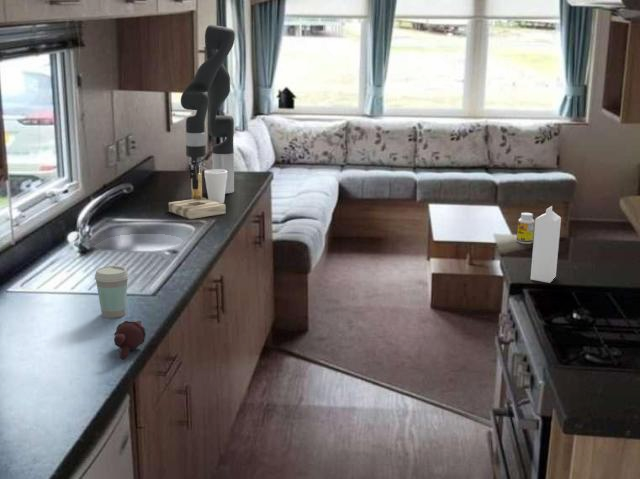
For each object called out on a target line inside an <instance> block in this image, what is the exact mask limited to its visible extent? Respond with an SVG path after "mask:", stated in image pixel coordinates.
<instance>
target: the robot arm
mask: <svg viewBox="0 0 640 479" xmlns="http://www.w3.org/2000/svg"><path fill="white" fill-rule="evenodd" d="M235 40H236V39H235V30H234V29H233V28H230V27H226V26H222V25H221V26H220V25H217V24H216V25H215V24H210V25H207V27H206V29H205V31H204V43H205V44H204V46H205V53H206V60H205V61H204V62H203V63H201V64H200V66H199V67H198V69H197V71H196V73H195V75H194V78H193V80H192V81H191V83H189V85H188V86H186V88H185V89H184V91H183V92H182V94H181V97H180V105H181V107H182V108H183V109H184V110H188V111H196V112H195V115H191V116H188V117H187V118H186V119H185V131H186V132H185V154H186V157H188V158H191V159H190V161H189V164H188V169H189V179H190V180H191V179H192V184H191V189H192V188H193V189H198V174H199V173H202V175H203V170H204V168H203V167H204V159H202V158H204V157H206V155H207V152H206V151H207V150H206V149H207V146H206V145H207V144H206V142H207V140H206V129H205V128H206V127H205V124H206V123H205V121H206V116H207V112H208V118H207V119H208V122H207V124H208V126H207V127H208V128H207V129H208V134H209V136H211V137H213V138H225V140H224V141H222V142H220V143H217V144H214V145H213V146H212V149H211V153H212V154H211V155H212V156H211V157H212V169H221V170H226V171H227V181H226V189H225V194H232V193H234V192H235V166H234V164H235V156H234V155H235V154H234V153H235V152H234V132H235V121H234V117H233V116H232V115H217V114H218V112H219V109H220V107H221V106H222V104H223V103H225V101H226V100H227V98H228V96H229V95H230V92H231V77H230V74H229V71H228V69H227V68H226V66H225V65H224V62H225V60H226V59H227V57H228V56H229V54H230V52H231V50H232V48H233V45H234V43H235ZM193 174H195V176H193Z"/></svg>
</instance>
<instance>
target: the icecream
mask: <svg viewBox="0 0 640 479" xmlns="http://www.w3.org/2000/svg"><path fill="white" fill-rule="evenodd" d="M145 330H146V329H145V327H144V326H142V320H136V321H130V320H129V321H128V320H124V321H123V322H120V323H119V324H118V325H117V327H116V330H115V333H114V338H113V341H114V345H115V346H116V347H118V348H119V349H120V353H119V358H120V359H121V360H125V359H126V358H127V357H128V356H129V355H130V351H132V350H136V349H137V348H138V347H139V346H141V345H143V344H144V343H145V338H146V334H147V333H146V331H145Z"/></svg>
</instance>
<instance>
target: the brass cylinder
mask: <svg viewBox="0 0 640 479" xmlns="http://www.w3.org/2000/svg"><path fill="white" fill-rule="evenodd" d="M202 175H203V174H202V173H199V174H198V189H193V188H192V187H191V199H196V200H197V199H202V198H203V176H202ZM193 176H195V174H193ZM190 180H191V181H190V182H191V183H190V184H191V185H192V179H190Z"/></svg>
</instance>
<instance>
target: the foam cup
mask: <svg viewBox="0 0 640 479" xmlns="http://www.w3.org/2000/svg"><path fill="white" fill-rule="evenodd" d="M204 178H205V179H204V180H205V186H206V193H207V199H209V200H212V201H216V202H219V203H222V204H225V198H226V196H225V195H226V193H225V189H226V181H227V171H226V170H221V169H213V168H211V169H206V170H204Z"/></svg>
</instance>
